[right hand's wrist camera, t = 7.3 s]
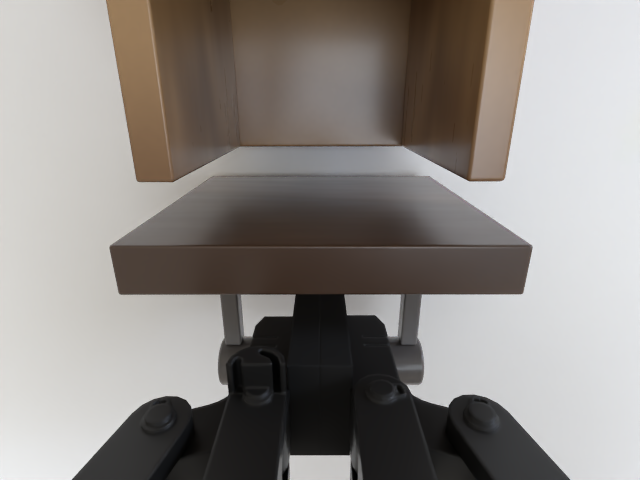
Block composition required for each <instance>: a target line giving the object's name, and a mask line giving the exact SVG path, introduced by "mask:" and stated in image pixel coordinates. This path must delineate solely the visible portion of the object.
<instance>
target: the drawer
mask: <svg viewBox="0 0 640 480" xmlns="http://www.w3.org/2000/svg"><path fill="white" fill-rule="evenodd" d="M106 2H107V8H108V14H109V20H110V26H111V32H112V38H113V44H114V50H115V56H116V61H117V67H118V73H119V79H120V85H121V91H122V97H123V103H124V109H125V115H126V120H127V126H128V132H129V138H130V144H131V150H132V156H133V162H134V168H135V174H136V179H137V181H138V182H174V181H176V180H178V179H179V178H181V177H183V176H185V175H187V174H189V173H191V172H193V171H195V170H196V169H198V168H200V167H202V166H204V165H206V164H208V163H210V162H211V161H213V160H215V159H217V158H219V157H221V156H223V155H225V154H226V153H228V152H230V151H232V150H234V149H236V148H238V147H240V146H403V147H405V148H407V149H409V150H411V151H413V152H415V153H416V154H418V155H420V156H422V157H424V158H426V159H428V160H430V161H432V162H434V163H435V164H437V165H439V166H441V167H443V168H445V169H447V170H449V171H451V172H453V173H454V174H456V175H458V176H460V177H462V178H464V179H466V180H468V181H502V180H504V178H505V174H506V168H507V162H508V156H509V150H510V144H511V138H512V132H513V126H514V120H515V114H516V108H517V102H518V96H519V90H520V84H521V77H522V71H523V65H524V59H525V53H526V47H527V41H528V35H529V29H530V23H531V17H532V11H533V5H534V0H106ZM531 252H532V245H531V244H529V243H528V242H526V241H525V240H523V239H522V238H520V237H519V236H517V235H516V234H514V233H513V232H511V231H510V230H508V229H507V228H505V227H504V226H502V225H501V224H499V223H498V222H496V221H495V220H493V219H492V218H490V217H489V216H488V215H486V214H485V213H483V212H482V211H480V210H479V209H477V208H476V207H474V206H473V205H471V204H470V203H468V202H467V201H465V200H464V199H462V198H461V197H459V196H458V195H456V194H455V193H453V192H452V191H450V190H449V189H447V188H446V187H444V186H443V185H441V184H440V183H438V182H437V181H436V180H434V179H433V178H431V177H430V176H215V177H211V178H210V179H208V180H207V181H205V182H204V183H202V184H201V185H199V186H198V187H196V188H195V189H193V190H192V191H190V192H189V193H187V194H186V195H185V196H183V197H182V198H180V199H179V200H177V201H176V202H174V203H173V204H171V205H170V206H168V207H167V208H165V209H164V210H162V211H161V212H159V213H158V214H156V215H155V216H153V217H152V218H151V219H149V220H148V221H146V222H145V223H143V224H142V225H140V226H139V227H137V228H136V229H134V230H133V231H131V232H130V233H128V234H127V235H125V236H124V237H122V238H121V239H119V240H118V241H117V242H115V243H114V244H112V245H111V246H110V253H111V257H112V262H113V267H114V272H115V277H116V282H117V286H118V291H119V294H121V295H146V294H220V297H221V306H222V316H223V326H224V335H225V338H224V339H223V341H222V344H221V347H220V352H219V359H218V374H219V380H220V382H221V384H223V385H228V381H227V371H226V363H227V361H228V360H229V358H230V357H231V356H232V355H234V354H235V353H236V352H238V351H240V350H242V349H245V348H248V347H250V344H251V340H252V338H253V337H244V329H243V317H242V305H241V294H401V303H400V316H399V328H398V337H388V339H389V343H390V346H391V350H392V353H393V357H394V360H395V364H396V367H397V371H398V374H399V377H400V380H401V381H402V382H403V383H404V384H405V385H419V384H421V383H422V380H423V375H424V358H423V351H422V347H421V344H420V341H419V339H418V338H417V335H418V325H419V315H420V305H421V295H422V294H523V291H524V287H525V282H526V277H527V272H528V267H529V262H530V257H531Z"/></svg>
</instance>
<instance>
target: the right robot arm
mask: <svg viewBox="0 0 640 480" xmlns="http://www.w3.org/2000/svg"><path fill="white" fill-rule="evenodd" d="M226 371H227V381H228V390H229V395H228V396H227V397H226V398H224V399H222V400H220V401H218V402H216V403H213V404H210V405H206V406H202V407H198V408H194V409H191V406H190V405H189V403H188V402H187V401H186V400H184V399H182V398H179V397H173V396H165V397H161V398H157V399H153V400H151V401H149V402H147V403H145V404H143V405H142V406H140V407H139V408H138V409H137V410H136V411H134V412H133V413H132V414H131V415H130V416H129V417H128V419H127V420H126V421H125V422H124V423H123V424H122V425H121V426H120V427H119V428H118V430H117V431H116V432H115V433H114V434H113V435H112V436H111V437H110V438H109V439H108V441H107V442H106V443H105V444H104V445H103V446H102V447H101V448H100V449H99V450H98V452H97V453H96V454H95V455H94V456H93V457H92V458H91V459H90V460H89V461H88V463H87V464H86V465H85V466H84V467H83V468H82V469H81V470H80V471H79V472H78V474H77V475H76V476H75V477H74V478H73V479H72V480H290V470H289V456H290V455H351V470H350V480H570V479H569V478H568V477H567V476H566V475H565V473H564V472H563V471H562V470H561V469H560V468H559V467H558V466H557V465H556V464H555V463H554V461H553V460H552V459H551V458H550V457H549V456H548V455H547V454H546V453H545V452H544V451H543V449H542V448H541V447H540V446H539V445H538V444H537V443H536V442H535V441H534V440H533V438H532V437H531V436H530V435H529V434H528V433H527V432H526V431H525V430H524V429H523V428H522V426H521V425H520V424H519V423H518V422H517V421H516V420H515V419H514V418H513V417H512V416H511V414H510V413H509V412H508V411H507V410H505V409H504V408H503V407H502V406H501V405H499V404H498V403H496V402H494V401H492V400H490V399H488V398H486V397H481V396H477V395H462V396H459V397H457V398H454V399H453V401H452V402H451V403H450V405H449V408H448V407H444V406H440V405H436V404H432V403H429V402H426V401H423V400H421V399H419V398H417V397H415V396H413V395H412V394H411V392H410V390H409V389H408V387H407V385H405V384H404V383H403V382H402V381H401V380H400V377H399V374H398V371H397V367H396V364H395V360H394V357H393V353H392V350H391V346H390V343H389V339H388V337H387V332H386V329H385V325H384V324H383V323H382V322H381V321H380V320H379V319H378V318H377V317H376V316H375V315H347V313H346V305H345V297H344V294H296V297H295V305H294V313H293V317H264V318H263V319H262V320H261V321H260V322H259V323H258V324H257V325H256V326H255V330H254V333H253V338H252V340H251V344H250V347H248V348H245V349H242V350H240V351H238V352H236V353H235V354H234V355H232V356H231V357H230V358H229V360H228V361H227V363H226Z"/></svg>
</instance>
